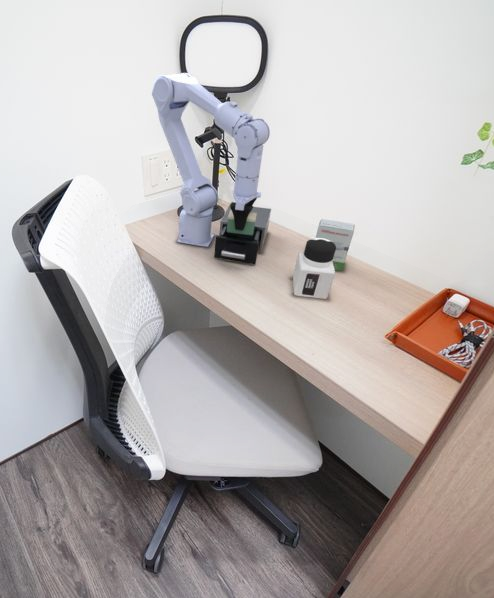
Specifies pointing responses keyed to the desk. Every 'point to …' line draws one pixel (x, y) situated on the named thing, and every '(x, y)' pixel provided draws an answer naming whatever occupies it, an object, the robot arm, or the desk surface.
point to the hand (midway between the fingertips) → (241, 225)
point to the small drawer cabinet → (260, 223)
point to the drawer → (237, 246)
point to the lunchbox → (248, 226)
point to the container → (315, 269)
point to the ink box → (337, 239)
